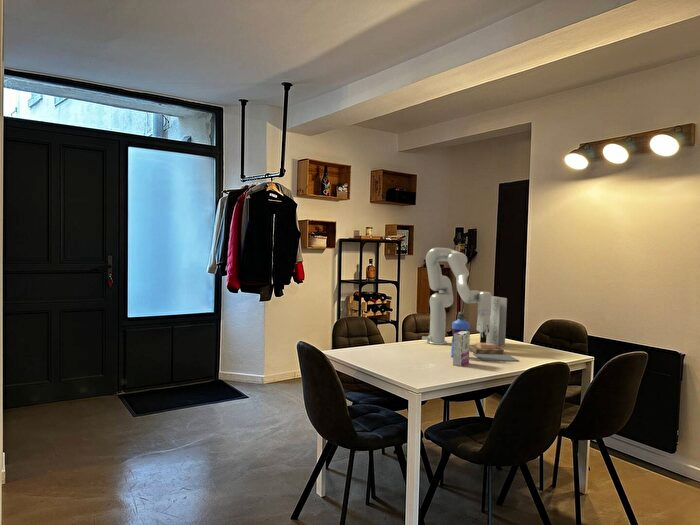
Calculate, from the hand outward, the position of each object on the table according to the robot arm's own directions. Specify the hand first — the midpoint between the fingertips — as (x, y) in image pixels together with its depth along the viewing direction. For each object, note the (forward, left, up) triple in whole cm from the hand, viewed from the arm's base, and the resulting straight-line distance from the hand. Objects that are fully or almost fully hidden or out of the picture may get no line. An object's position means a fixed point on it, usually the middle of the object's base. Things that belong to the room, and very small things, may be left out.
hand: (483, 343), depth 310 cm
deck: (0, -5, -4) cm, 7 cm away
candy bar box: (-25, -37, -5) cm, 45 cm away
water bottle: (-20, -19, -5) cm, 28 cm away
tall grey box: (+16, +24, -5) cm, 29 cm away
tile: (0, -5, -1) cm, 5 cm away
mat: (0, -20, -4) cm, 21 cm away
